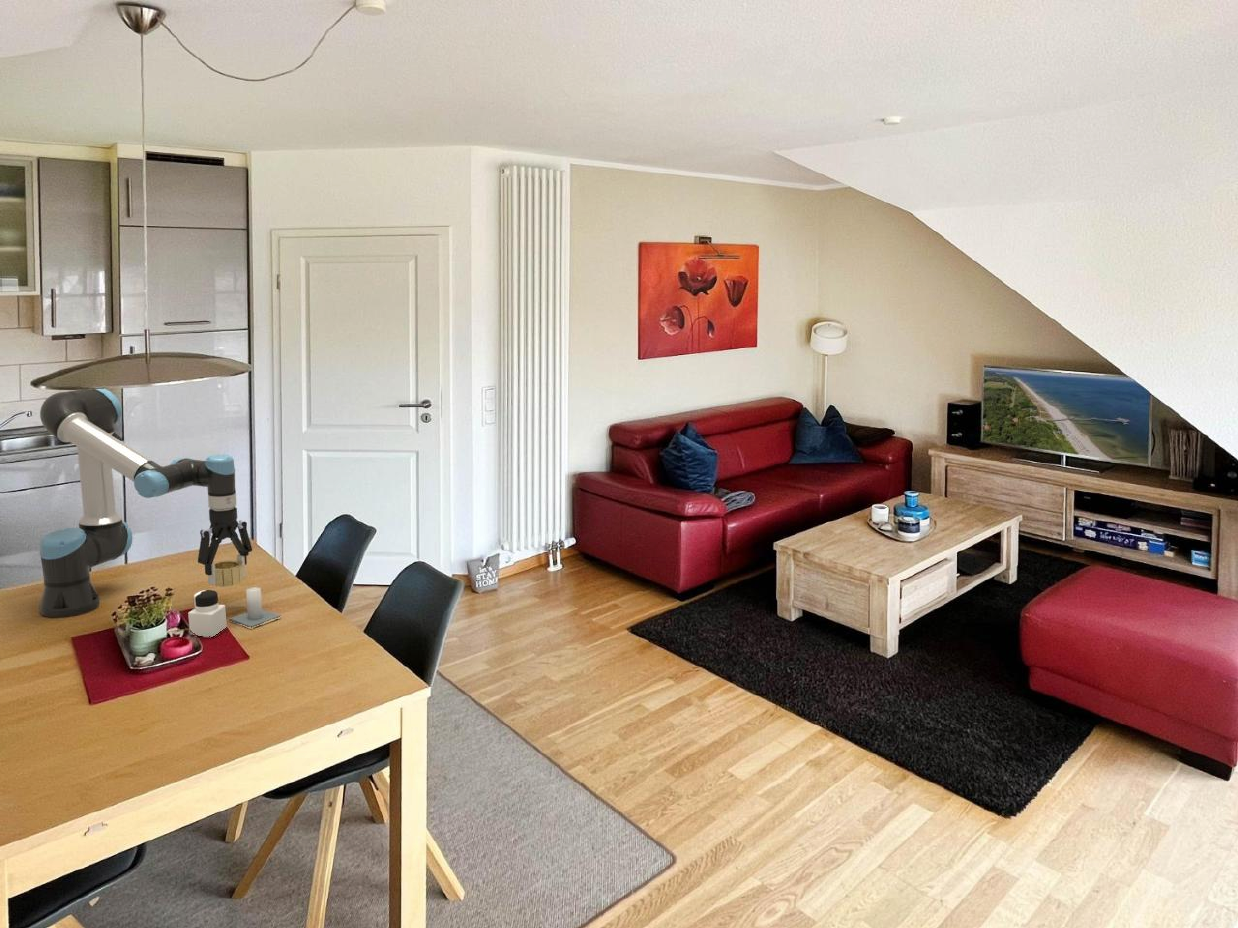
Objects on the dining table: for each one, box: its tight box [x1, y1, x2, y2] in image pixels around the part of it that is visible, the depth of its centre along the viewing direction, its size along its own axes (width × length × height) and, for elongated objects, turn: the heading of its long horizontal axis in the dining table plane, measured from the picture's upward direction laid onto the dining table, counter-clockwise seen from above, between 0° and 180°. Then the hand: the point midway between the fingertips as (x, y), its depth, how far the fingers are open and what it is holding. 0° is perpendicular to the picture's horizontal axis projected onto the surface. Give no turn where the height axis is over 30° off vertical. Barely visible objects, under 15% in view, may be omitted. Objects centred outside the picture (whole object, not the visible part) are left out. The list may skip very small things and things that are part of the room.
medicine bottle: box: [187, 589, 228, 638], centre depth 248 cm, size 7×7×12 cm
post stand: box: [229, 586, 282, 628], centre depth 257 cm, size 10×10×10 cm
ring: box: [212, 559, 244, 587], centre depth 262 cm, size 9×9×5 cm
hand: (227, 580), depth 262 cm, fingers closed on ring, 9 cm apart
